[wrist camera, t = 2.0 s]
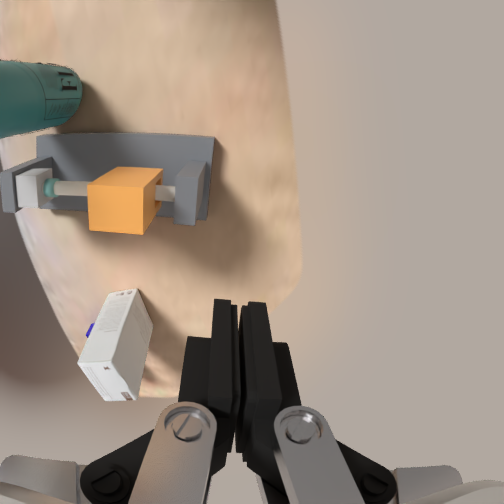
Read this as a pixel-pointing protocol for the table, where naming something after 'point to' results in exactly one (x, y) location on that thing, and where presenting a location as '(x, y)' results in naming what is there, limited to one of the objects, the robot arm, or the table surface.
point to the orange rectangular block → (124, 200)
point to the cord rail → (106, 159)
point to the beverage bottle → (36, 96)
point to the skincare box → (118, 346)
